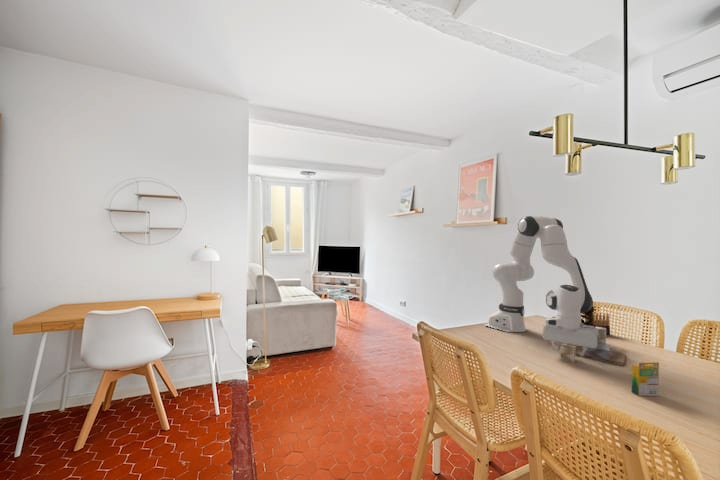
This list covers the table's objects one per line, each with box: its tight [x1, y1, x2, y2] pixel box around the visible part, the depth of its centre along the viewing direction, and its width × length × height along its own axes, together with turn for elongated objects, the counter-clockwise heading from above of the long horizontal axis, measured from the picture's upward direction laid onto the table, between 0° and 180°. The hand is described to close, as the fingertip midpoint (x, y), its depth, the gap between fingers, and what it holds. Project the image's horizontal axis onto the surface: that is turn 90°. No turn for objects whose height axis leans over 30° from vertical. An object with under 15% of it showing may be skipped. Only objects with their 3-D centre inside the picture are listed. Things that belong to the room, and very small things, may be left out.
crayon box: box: [631, 361, 660, 397], centre depth 109 cm, size 7×3×12 cm, turn 92°
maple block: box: [559, 343, 577, 364], centre depth 139 cm, size 5×5×6 cm
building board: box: [566, 327, 626, 367], centre depth 146 cm, size 22×16×11 cm
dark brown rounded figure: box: [580, 305, 595, 326], centre depth 165 cm, size 15×15×20 cm
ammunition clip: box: [593, 312, 611, 336], centre depth 176 cm, size 11×2×12 cm, turn 77°
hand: (568, 353), depth 139 cm, fingers open, 8 cm apart
